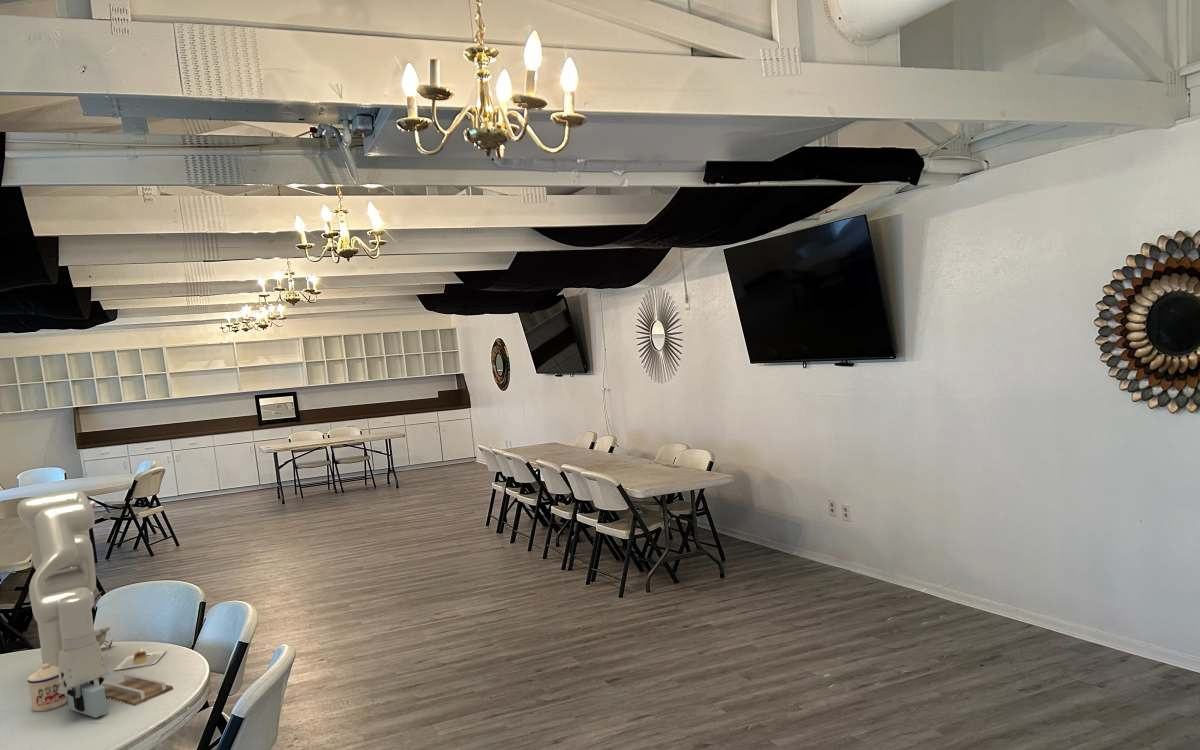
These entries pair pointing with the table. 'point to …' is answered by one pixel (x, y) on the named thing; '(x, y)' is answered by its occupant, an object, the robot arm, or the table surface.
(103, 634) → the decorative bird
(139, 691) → the bottom track
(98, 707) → the door panel
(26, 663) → the table surface
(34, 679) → the teacup with lid
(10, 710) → the table surface
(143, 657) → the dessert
